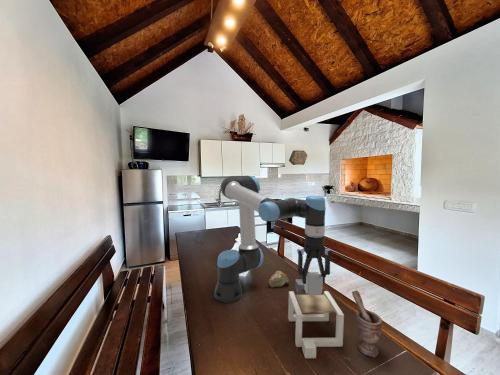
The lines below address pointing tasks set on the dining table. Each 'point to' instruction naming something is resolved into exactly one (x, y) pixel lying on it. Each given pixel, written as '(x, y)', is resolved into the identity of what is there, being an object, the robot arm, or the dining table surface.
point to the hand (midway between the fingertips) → (313, 290)
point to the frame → (316, 317)
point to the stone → (314, 283)
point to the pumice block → (309, 348)
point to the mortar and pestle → (367, 328)
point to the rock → (278, 279)
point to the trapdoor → (311, 301)
